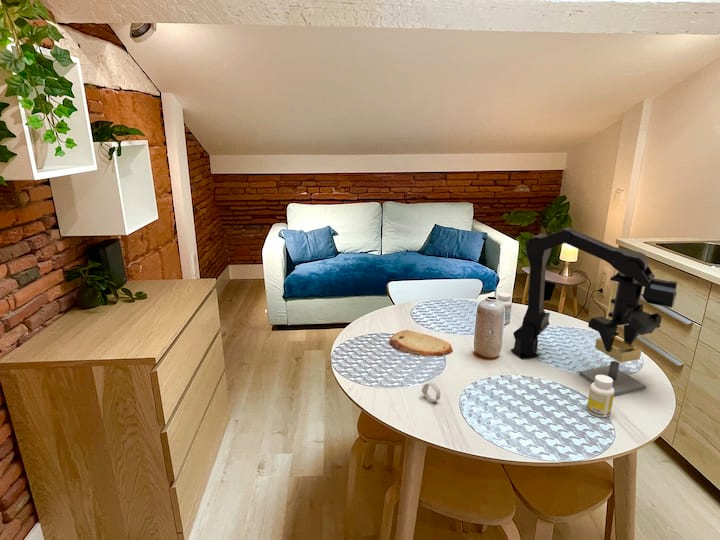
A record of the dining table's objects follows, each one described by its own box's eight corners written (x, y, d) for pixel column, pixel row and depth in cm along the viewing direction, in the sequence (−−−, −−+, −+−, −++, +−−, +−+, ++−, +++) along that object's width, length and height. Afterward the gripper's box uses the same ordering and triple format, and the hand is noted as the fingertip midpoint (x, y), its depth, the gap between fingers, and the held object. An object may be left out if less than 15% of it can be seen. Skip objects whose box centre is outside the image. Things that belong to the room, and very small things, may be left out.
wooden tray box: (621, 362, 118) (623, 352, 117) (594, 347, 126) (596, 338, 125) (639, 359, 120) (641, 349, 119) (612, 344, 128) (614, 335, 127)
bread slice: (457, 353, 143) (457, 343, 142) (408, 364, 137) (409, 353, 136) (429, 331, 159) (429, 322, 158) (384, 340, 153) (384, 330, 151)
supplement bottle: (602, 405, 115) (608, 372, 112) (614, 418, 110) (621, 384, 107) (582, 405, 115) (588, 373, 112) (593, 418, 110) (599, 384, 107)
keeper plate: (612, 396, 119) (616, 377, 117) (578, 374, 130) (582, 356, 128) (645, 389, 122) (650, 369, 120) (610, 368, 133) (613, 350, 131)
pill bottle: (489, 319, 168) (492, 292, 165) (502, 317, 170) (505, 290, 167) (499, 326, 163) (502, 298, 159) (513, 323, 165) (516, 296, 161)
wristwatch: (427, 394, 120) (428, 378, 119) (441, 402, 117) (442, 386, 115) (420, 398, 118) (421, 382, 117) (434, 406, 115) (435, 390, 113)
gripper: (626, 313, 108) (615, 368, 113) (681, 304, 114) (668, 358, 118) (591, 298, 118) (582, 349, 123) (643, 290, 124) (633, 340, 128)
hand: (617, 349), depth 123 cm, fingers closed on wooden tray box, 7 cm apart
